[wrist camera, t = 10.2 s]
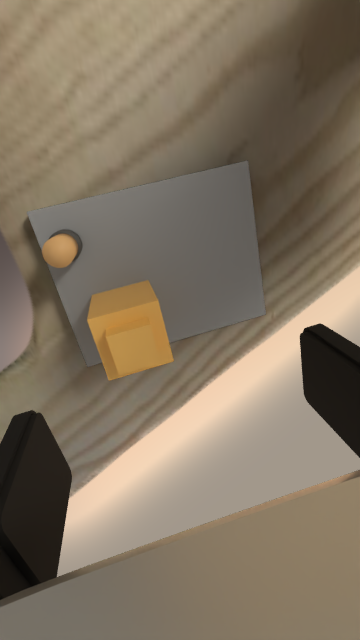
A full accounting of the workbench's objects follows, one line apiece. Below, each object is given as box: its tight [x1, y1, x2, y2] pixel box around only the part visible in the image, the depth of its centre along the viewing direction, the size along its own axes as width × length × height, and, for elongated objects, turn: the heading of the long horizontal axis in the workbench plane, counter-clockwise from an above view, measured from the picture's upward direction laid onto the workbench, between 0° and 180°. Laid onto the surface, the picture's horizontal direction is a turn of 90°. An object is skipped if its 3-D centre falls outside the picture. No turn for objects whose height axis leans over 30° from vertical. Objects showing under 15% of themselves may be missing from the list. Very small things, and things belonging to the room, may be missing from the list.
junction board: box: [27, 160, 266, 367], centre depth 26 cm, size 18×14×6 cm
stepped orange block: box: [87, 280, 174, 381], centre depth 24 cm, size 5×5×8 cm
